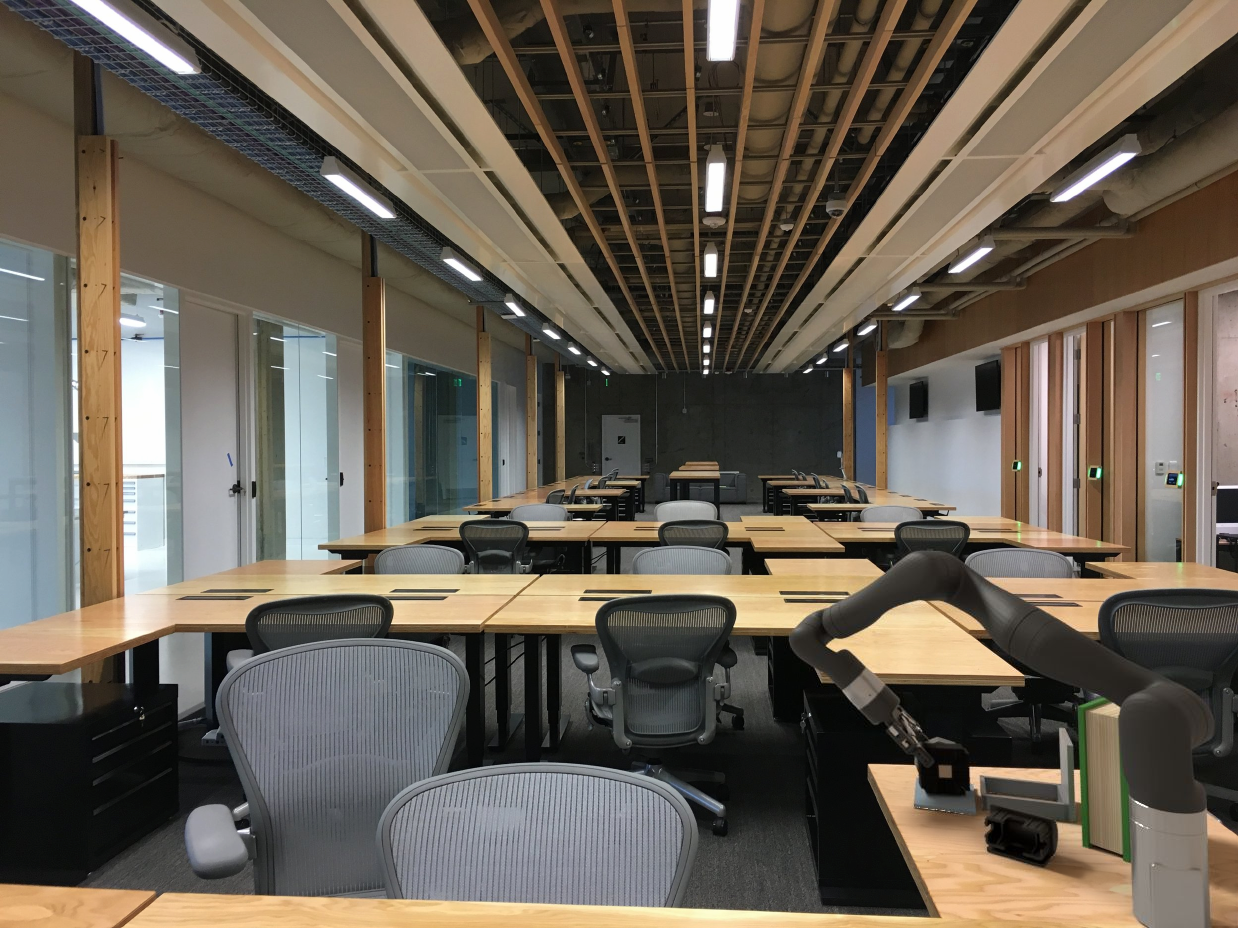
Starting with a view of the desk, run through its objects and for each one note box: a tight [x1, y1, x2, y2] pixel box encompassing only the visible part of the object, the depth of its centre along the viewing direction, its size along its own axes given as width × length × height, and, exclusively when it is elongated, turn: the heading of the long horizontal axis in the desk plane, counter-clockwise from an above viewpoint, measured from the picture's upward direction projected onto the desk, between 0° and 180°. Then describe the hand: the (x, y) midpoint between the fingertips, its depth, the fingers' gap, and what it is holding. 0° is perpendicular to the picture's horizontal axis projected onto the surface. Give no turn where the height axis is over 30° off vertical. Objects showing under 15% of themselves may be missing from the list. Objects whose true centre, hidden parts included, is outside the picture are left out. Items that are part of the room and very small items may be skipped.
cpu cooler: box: [914, 736, 971, 796], centre depth 160 cm, size 10×6×10 cm, turn 80°
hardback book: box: [1077, 697, 1131, 864], centre depth 139 cm, size 18×7×24 cm, turn 124°
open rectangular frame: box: [979, 727, 1077, 823], centre depth 154 cm, size 11×16×14 cm
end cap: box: [983, 804, 1059, 869], centre depth 136 cm, size 10×7×7 cm
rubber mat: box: [913, 777, 977, 816], centre depth 159 cm, size 14×11×1 cm
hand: (931, 757), depth 160 cm, fingers open, 8 cm apart
